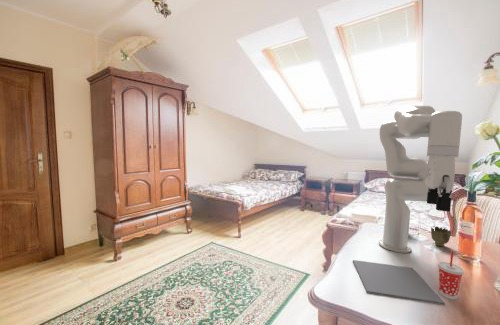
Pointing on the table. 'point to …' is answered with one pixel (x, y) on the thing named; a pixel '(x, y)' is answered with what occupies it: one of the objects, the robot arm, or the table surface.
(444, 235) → the cup
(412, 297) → the mat
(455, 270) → the beverage cup
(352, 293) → the table surface
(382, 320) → the table surface
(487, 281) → the table surface
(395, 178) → the robot arm
